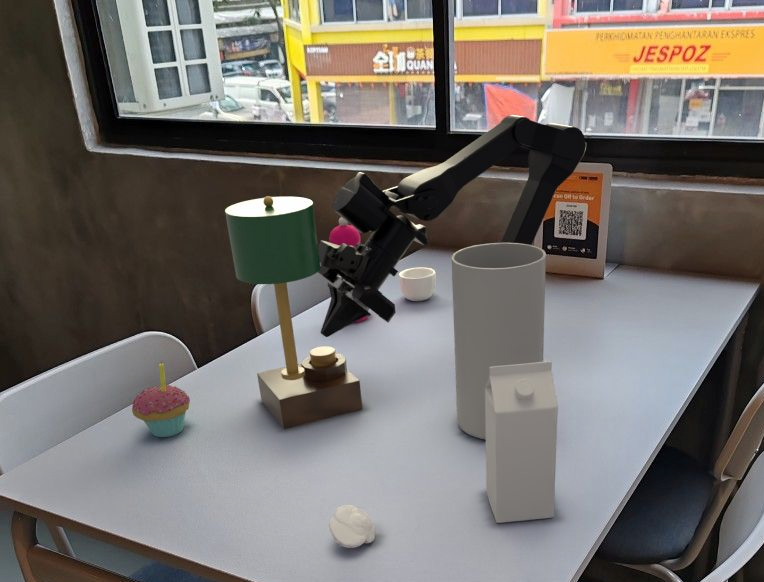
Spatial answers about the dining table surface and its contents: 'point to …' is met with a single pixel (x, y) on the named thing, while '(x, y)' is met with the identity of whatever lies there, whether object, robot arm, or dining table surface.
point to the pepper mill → (345, 238)
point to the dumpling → (351, 527)
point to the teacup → (417, 283)
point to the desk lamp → (275, 254)
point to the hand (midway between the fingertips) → (323, 335)
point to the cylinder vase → (494, 319)
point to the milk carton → (521, 441)
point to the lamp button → (322, 356)
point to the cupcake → (162, 408)
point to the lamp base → (310, 393)
